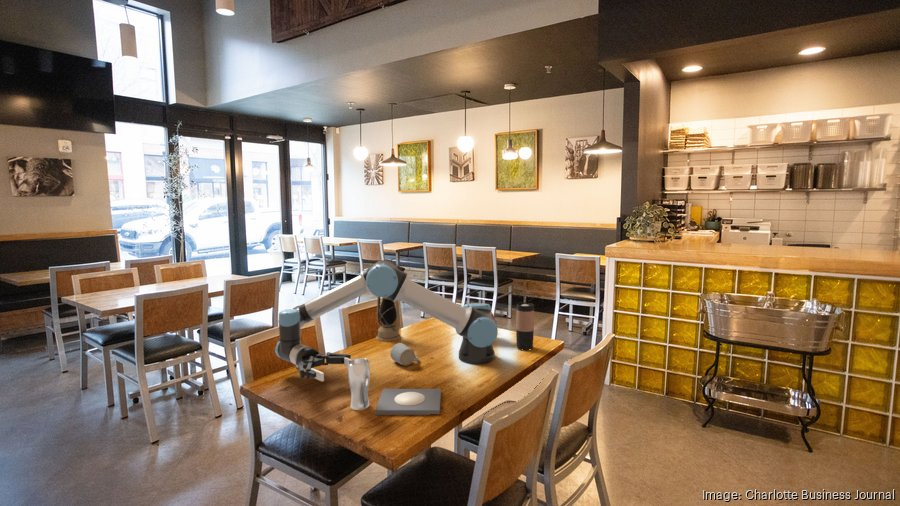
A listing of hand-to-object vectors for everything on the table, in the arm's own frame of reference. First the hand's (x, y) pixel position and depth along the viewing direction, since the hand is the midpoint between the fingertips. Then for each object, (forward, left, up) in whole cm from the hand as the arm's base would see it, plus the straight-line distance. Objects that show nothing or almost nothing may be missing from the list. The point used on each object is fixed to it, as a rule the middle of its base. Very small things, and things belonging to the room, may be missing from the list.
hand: (340, 371), depth 155 cm
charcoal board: (-24, +4, -9) cm, 26 cm away
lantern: (-7, -67, -10) cm, 68 cm away
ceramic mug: (-18, -33, -10) cm, 39 cm away
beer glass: (-8, +6, -10) cm, 14 cm away
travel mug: (-70, -51, -10) cm, 87 cm away
